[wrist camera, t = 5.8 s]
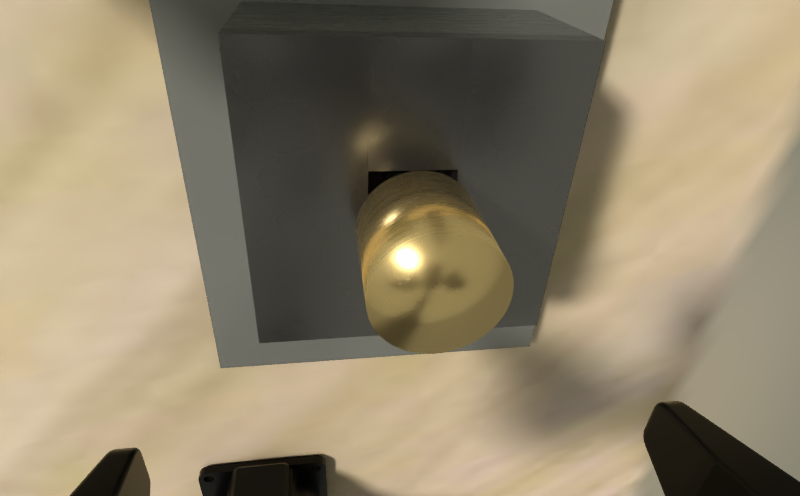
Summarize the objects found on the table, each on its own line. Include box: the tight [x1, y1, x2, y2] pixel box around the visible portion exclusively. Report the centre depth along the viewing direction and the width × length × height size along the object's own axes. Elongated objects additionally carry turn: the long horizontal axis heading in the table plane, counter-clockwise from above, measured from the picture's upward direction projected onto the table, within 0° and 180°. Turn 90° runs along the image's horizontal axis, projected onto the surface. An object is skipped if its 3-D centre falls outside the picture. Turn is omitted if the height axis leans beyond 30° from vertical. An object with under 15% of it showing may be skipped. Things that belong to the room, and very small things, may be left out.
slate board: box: [149, 0, 614, 368], centre depth 19 cm, size 20×14×1 cm
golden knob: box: [355, 170, 514, 354], centre depth 15 cm, size 4×4×8 cm
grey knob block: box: [218, 2, 606, 343], centre depth 16 cm, size 9×9×5 cm
